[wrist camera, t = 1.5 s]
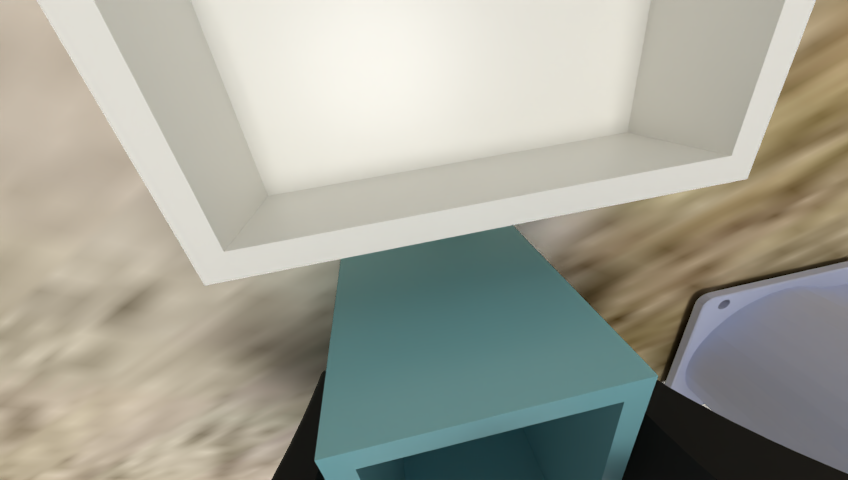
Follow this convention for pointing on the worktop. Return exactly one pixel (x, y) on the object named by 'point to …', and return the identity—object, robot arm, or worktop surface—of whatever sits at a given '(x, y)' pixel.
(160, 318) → the worktop surface
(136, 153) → the white crate
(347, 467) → the teal crate
